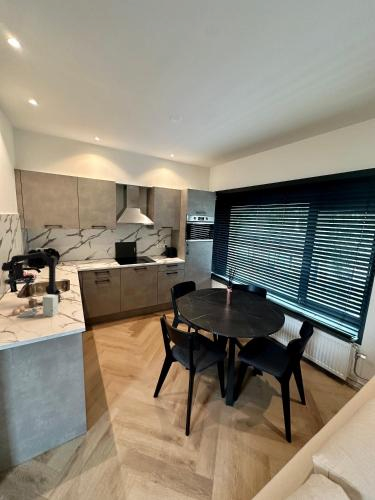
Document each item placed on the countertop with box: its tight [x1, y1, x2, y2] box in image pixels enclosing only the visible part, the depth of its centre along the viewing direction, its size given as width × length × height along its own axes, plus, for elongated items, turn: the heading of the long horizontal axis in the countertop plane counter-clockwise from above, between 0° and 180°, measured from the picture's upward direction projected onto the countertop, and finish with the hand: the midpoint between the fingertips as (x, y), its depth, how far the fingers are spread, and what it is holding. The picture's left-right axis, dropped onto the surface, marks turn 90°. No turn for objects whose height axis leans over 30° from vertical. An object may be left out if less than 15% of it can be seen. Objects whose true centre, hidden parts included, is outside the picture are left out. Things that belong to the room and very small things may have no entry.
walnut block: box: [27, 298, 38, 309], centre depth 166 cm, size 4×4×6 cm
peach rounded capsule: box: [17, 305, 25, 314], centre depth 158 cm, size 4×4×4 cm
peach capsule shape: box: [12, 307, 21, 317], centre depth 153 cm, size 4×4×4 cm
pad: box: [16, 310, 39, 319], centre depth 154 cm, size 9×9×1 cm
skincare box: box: [42, 294, 59, 318], centre depth 154 cm, size 8×6×15 cm
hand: (21, 289), depth 170 cm, fingers open, 9 cm apart
